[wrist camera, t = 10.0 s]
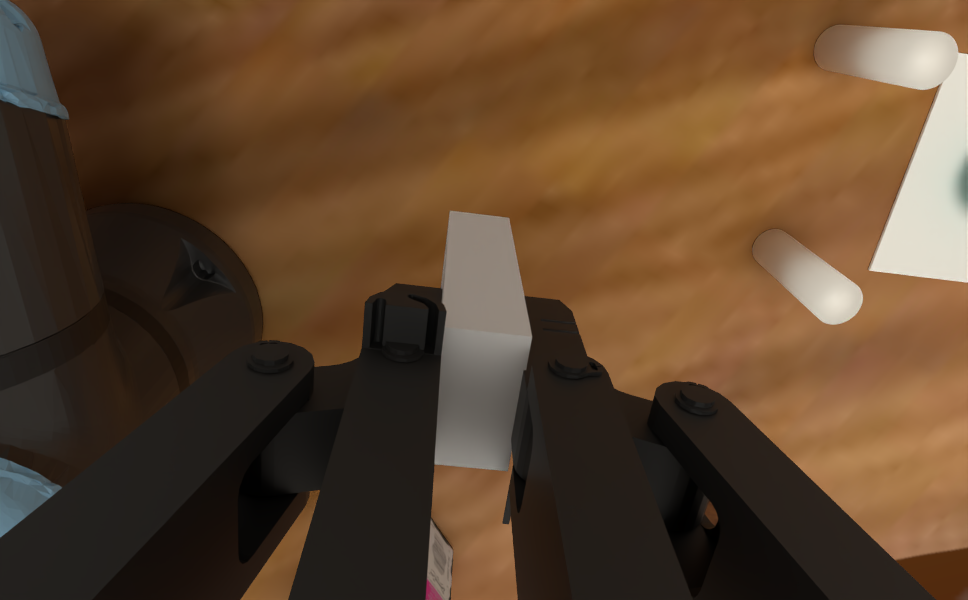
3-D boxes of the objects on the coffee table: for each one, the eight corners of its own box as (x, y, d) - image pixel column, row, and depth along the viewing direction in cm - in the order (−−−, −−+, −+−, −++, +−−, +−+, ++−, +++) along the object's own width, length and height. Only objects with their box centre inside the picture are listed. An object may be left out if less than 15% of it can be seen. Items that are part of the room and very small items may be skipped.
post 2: (807, 68, 41) (893, 85, 32) (822, 21, 40) (914, 27, 31) (849, 73, 41) (944, 93, 33) (864, 27, 40) (967, 35, 31)
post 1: (747, 263, 46) (808, 321, 37) (758, 226, 45) (823, 278, 36) (784, 267, 46) (853, 326, 38) (796, 231, 45) (869, 284, 37)
